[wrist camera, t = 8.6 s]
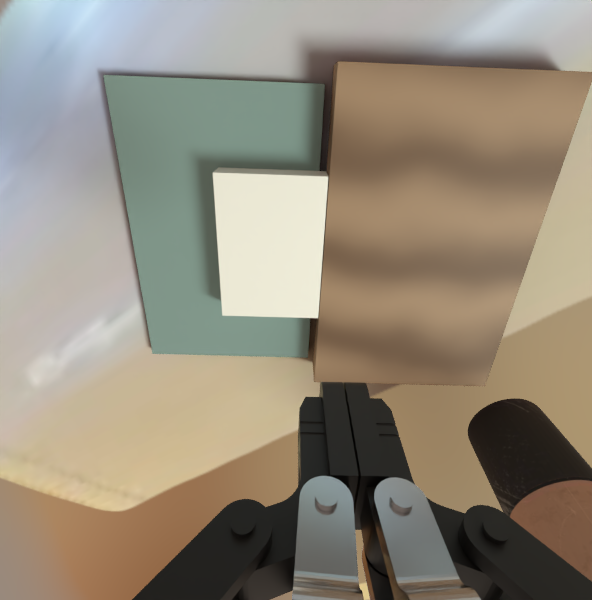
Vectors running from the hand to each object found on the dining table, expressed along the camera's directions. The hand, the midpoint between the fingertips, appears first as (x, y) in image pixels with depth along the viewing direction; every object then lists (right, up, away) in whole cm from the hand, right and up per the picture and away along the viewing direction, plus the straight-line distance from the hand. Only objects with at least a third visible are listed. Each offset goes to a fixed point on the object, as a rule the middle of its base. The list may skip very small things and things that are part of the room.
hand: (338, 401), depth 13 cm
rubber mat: (-7, +8, +14) cm, 18 cm away
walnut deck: (+7, +7, +15) cm, 18 cm away
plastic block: (-3, +7, +13) cm, 15 cm away
